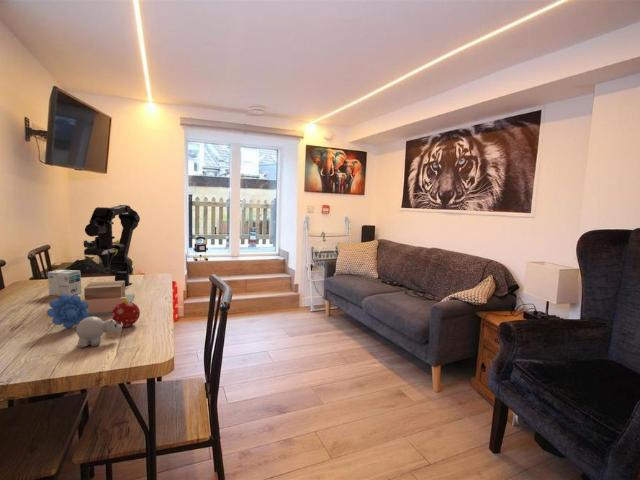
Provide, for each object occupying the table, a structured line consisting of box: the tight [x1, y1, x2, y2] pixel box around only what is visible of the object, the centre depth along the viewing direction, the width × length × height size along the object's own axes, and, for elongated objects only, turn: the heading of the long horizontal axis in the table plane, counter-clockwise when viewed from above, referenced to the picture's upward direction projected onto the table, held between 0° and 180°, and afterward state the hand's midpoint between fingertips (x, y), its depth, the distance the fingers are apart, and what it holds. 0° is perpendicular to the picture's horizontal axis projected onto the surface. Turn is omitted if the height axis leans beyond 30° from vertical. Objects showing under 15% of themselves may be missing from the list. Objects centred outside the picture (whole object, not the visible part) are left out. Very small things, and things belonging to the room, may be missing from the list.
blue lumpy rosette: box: [46, 294, 90, 329], centre depth 112 cm, size 12×7×12 cm, turn 137°
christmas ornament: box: [111, 298, 141, 328], centre depth 116 cm, size 9×9×10 cm
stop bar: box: [80, 297, 127, 313], centre depth 127 cm, size 2×16×5 cm, turn 113°
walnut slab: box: [83, 280, 126, 300], centre depth 132 cm, size 10×12×7 cm
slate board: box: [89, 294, 135, 317], centre depth 138 cm, size 25×16×1 cm, turn 23°
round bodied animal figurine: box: [75, 315, 123, 348], centre depth 102 cm, size 7×12×8 cm, turn 120°
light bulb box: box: [47, 269, 83, 297], centre depth 152 cm, size 11×7×11 cm, turn 84°
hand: (106, 267), depth 155 cm, fingers closed
